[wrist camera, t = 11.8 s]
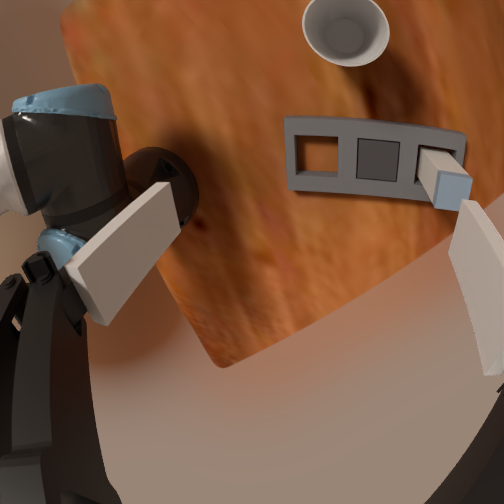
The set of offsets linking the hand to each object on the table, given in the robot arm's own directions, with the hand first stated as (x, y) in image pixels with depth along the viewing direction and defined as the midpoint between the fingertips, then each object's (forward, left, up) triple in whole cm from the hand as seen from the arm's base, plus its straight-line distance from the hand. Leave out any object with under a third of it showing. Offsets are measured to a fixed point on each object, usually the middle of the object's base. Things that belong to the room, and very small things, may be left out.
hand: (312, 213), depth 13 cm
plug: (+14, -6, -29) cm, 32 cm away
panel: (+6, -6, -29) cm, 30 cm away
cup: (+2, +10, -29) cm, 31 cm away
